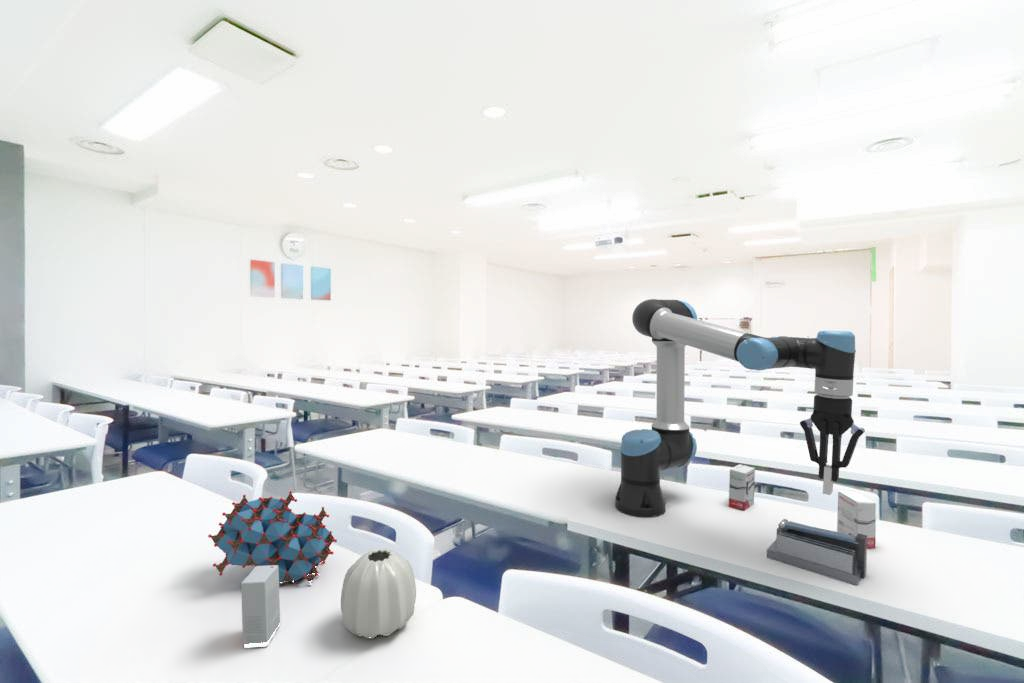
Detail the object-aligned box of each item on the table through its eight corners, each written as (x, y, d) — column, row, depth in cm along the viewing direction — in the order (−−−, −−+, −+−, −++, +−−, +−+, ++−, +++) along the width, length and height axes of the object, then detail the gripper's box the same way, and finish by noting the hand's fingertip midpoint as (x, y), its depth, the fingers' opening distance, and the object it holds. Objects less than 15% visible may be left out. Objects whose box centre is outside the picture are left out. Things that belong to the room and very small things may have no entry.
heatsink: (766, 557, 115) (767, 521, 115) (780, 541, 124) (781, 508, 124) (860, 586, 102) (861, 546, 102) (869, 566, 111) (870, 529, 111)
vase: (344, 658, 81) (343, 581, 80) (339, 612, 93) (338, 546, 93) (424, 636, 86) (423, 564, 86) (409, 596, 99) (408, 533, 98)
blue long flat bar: (778, 528, 117) (778, 522, 117) (782, 523, 120) (782, 518, 120) (853, 545, 106) (852, 538, 106) (855, 539, 109) (855, 533, 109)
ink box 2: (876, 548, 120) (877, 502, 119) (856, 548, 120) (857, 502, 120) (854, 533, 128) (855, 490, 128) (835, 533, 129) (836, 490, 128)
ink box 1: (744, 511, 144) (745, 472, 143) (728, 506, 147) (728, 469, 147) (754, 503, 150) (755, 466, 149) (738, 499, 153) (739, 463, 153)
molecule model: (348, 518, 118) (253, 472, 112) (341, 543, 104) (233, 492, 98) (312, 577, 116) (214, 533, 111) (300, 611, 102) (188, 563, 97)
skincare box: (257, 627, 89) (256, 565, 88) (280, 626, 89) (279, 564, 89) (241, 649, 83) (240, 582, 82) (266, 648, 83) (265, 581, 83)
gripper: (797, 393, 114) (792, 489, 116) (864, 401, 105) (857, 505, 106) (805, 390, 119) (801, 482, 121) (869, 397, 110) (863, 496, 112)
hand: (827, 492), depth 114 cm, fingers closed
